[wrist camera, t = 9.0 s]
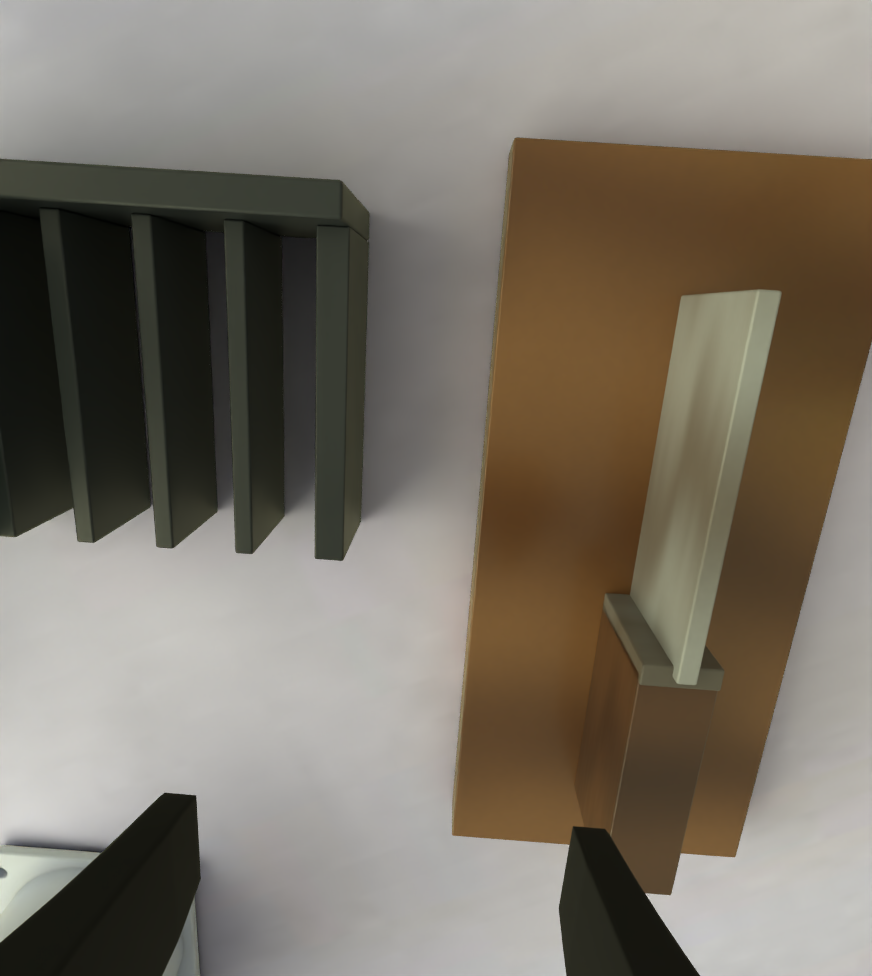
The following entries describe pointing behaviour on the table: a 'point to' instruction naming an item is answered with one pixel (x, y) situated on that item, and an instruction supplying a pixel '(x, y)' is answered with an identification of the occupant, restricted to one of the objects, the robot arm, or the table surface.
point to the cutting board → (646, 449)
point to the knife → (674, 591)
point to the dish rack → (170, 348)
